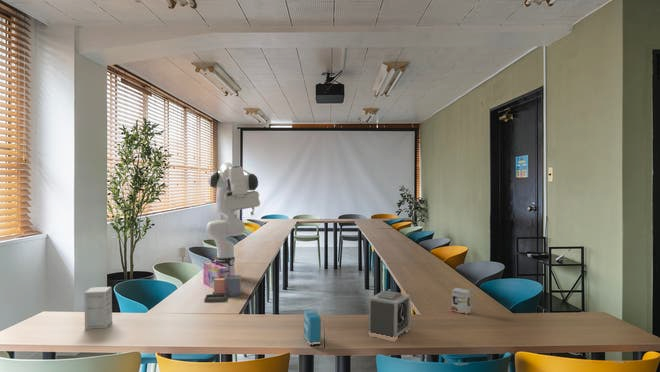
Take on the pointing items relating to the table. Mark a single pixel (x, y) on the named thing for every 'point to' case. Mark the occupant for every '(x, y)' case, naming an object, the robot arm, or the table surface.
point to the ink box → (461, 300)
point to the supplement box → (98, 307)
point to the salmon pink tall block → (219, 286)
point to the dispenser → (233, 285)
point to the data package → (312, 326)
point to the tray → (215, 298)
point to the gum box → (214, 273)
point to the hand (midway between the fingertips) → (244, 216)
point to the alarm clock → (389, 313)
